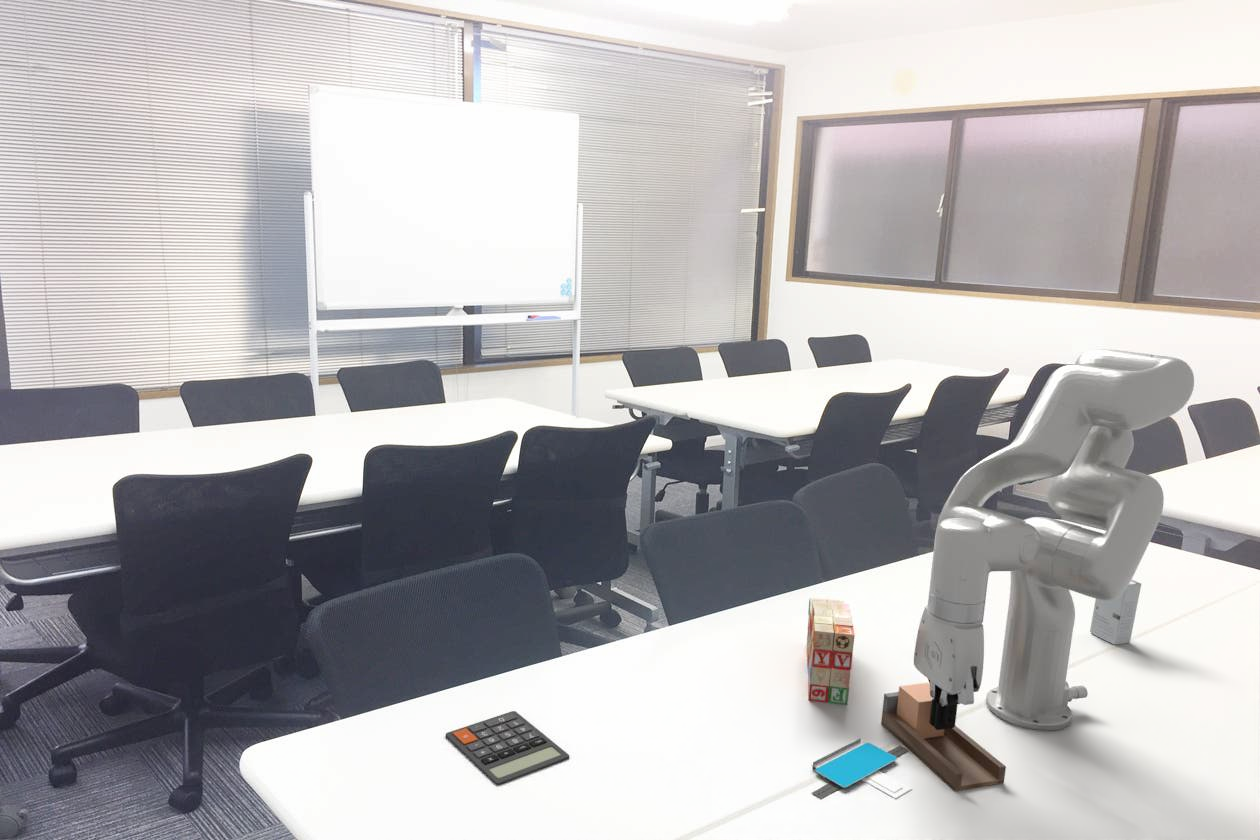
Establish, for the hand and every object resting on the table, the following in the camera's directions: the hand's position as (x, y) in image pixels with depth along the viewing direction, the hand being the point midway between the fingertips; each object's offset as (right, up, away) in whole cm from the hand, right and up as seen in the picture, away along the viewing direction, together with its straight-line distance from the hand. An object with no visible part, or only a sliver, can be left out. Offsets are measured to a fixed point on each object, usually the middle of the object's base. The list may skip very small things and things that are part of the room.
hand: (941, 725), depth 134 cm
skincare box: (+47, +2, +43) cm, 64 cm away
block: (-2, -3, +6) cm, 6 cm away
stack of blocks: (-12, +1, +24) cm, 27 cm away
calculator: (-63, -3, -2) cm, 63 cm away
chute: (0, -4, +1) cm, 4 cm away
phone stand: (-12, -6, -5) cm, 15 cm away
